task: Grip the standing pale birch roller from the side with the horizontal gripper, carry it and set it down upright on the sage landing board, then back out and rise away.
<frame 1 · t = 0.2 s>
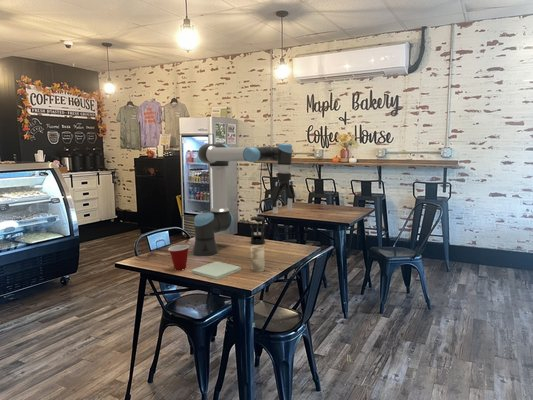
hand: (282, 211, 217), 27 cm above the table, tool pointing down, fingers open, 13 cm apart
birch roller: (257, 269, 205), on the table
french press: (258, 243, 261), on the table
landing board: (216, 271, 204), on the table
plastic cup: (179, 269, 209), on the table
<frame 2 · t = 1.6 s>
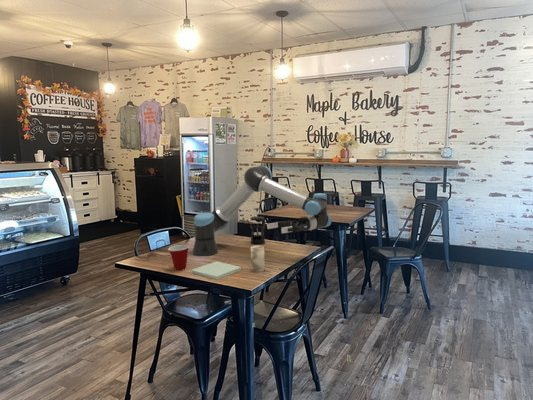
hand: (274, 228, 208), 20 cm above the table, tool horizontal, fingers open, 13 cm apart
nothing on the table moved.
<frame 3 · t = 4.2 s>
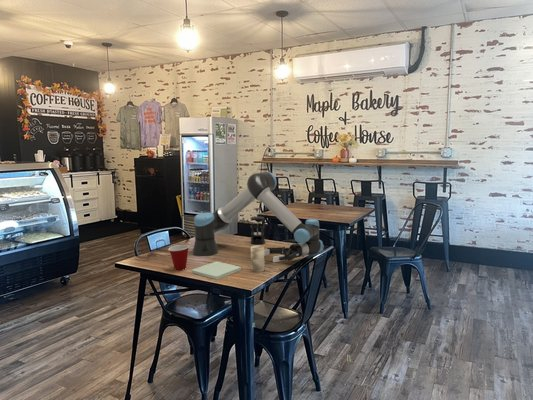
hand: (265, 256, 206), 6 cm above the table, tool horizontal, fingers open, 13 cm apart
nothing on the table moved.
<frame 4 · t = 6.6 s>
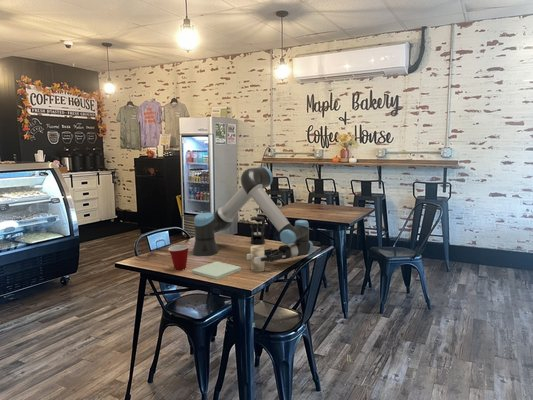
hand: (250, 258, 202), 7 cm above the table, tool horizontal, fingers closed on birch roller, 7 cm apart
birch roller: (257, 269, 205), on the table, touching gripper
everything else where it was.
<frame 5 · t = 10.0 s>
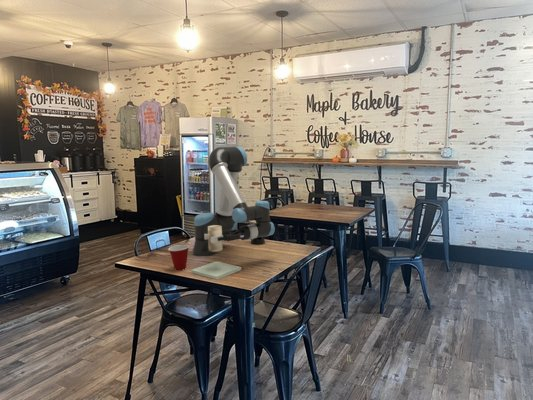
hand: (207, 238, 199), 18 cm above the table, tool horizontal, fingers closed on birch roller, 7 cm apart
birch roller: (215, 249, 202), point 11 cm above the table, touching gripper
everything else where it was.
when the fingers open (8 cm above the table, at t = 13.7 s): birch roller stays where it is, resting on landing board.
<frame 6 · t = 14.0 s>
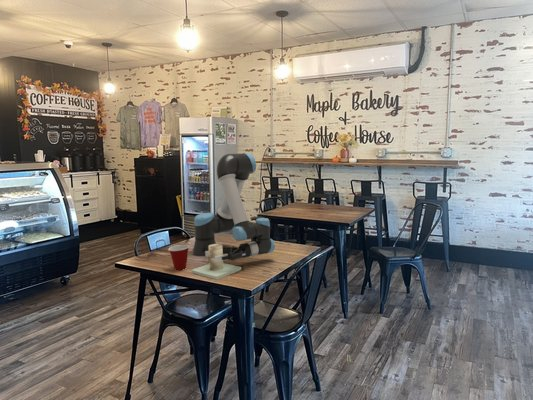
hand: (210, 256, 201), 8 cm above the table, tool horizontal, fingers open, 11 cm apart
birch roller: (216, 268, 204), point 1 cm above the table, touching landing board
everything else where it was.
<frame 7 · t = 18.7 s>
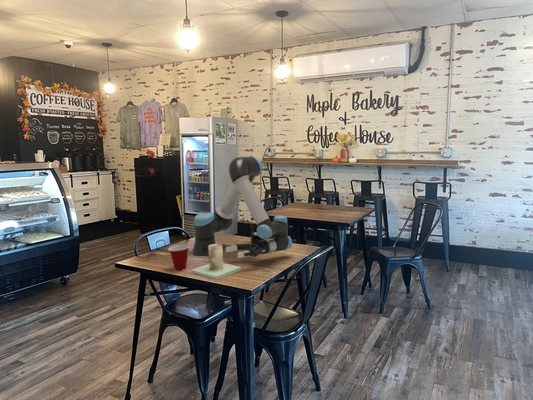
hand: (231, 252, 208), 8 cm above the table, tool horizontal, fingers open, 13 cm apart
nothing on the table moved.
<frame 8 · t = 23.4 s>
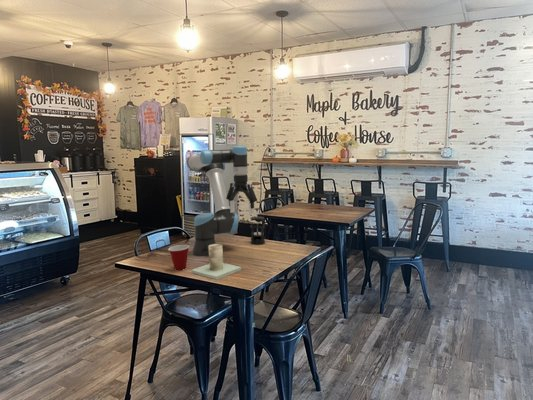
hand: (241, 213, 218), 27 cm above the table, tool pointing down, fingers open, 13 cm apart
nothing on the table moved.
at the end: birch roller inside the target area on the landing board (0.0 cm from its centre), point 1.5 cm above the landing board's base; birch roller tilted 0°; the gripper is holding nothing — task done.
